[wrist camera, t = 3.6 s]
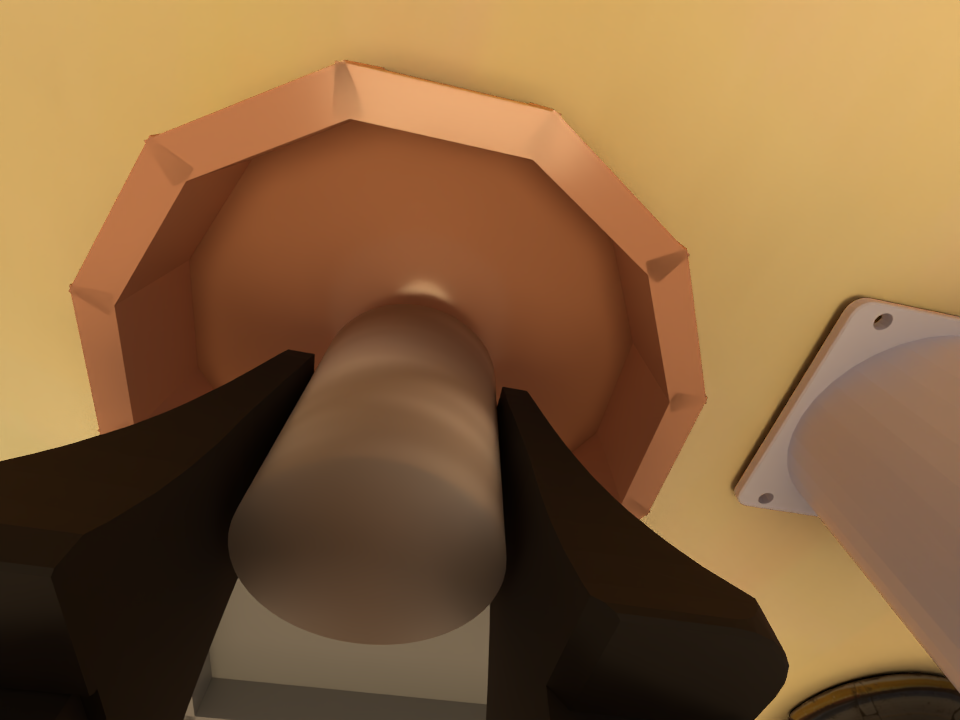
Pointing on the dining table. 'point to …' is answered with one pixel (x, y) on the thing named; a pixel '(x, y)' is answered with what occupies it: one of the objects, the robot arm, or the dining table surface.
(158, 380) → the orange shallow faceted dish
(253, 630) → the charcoal tray
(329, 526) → the taupe rounded cylinder
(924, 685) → the apothecary jar
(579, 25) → the dining table surface
